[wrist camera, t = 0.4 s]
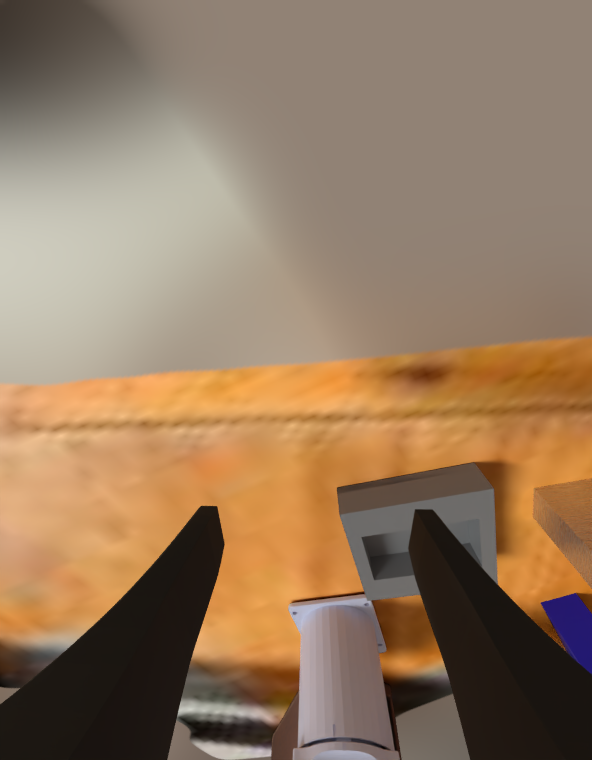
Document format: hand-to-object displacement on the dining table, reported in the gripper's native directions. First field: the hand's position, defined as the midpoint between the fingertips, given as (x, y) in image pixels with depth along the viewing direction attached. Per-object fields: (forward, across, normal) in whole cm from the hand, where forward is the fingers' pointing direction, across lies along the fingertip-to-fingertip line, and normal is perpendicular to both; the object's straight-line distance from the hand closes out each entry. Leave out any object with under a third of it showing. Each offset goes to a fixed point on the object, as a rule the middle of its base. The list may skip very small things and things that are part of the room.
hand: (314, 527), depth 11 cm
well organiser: (+10, -8, +11) cm, 17 cm away
